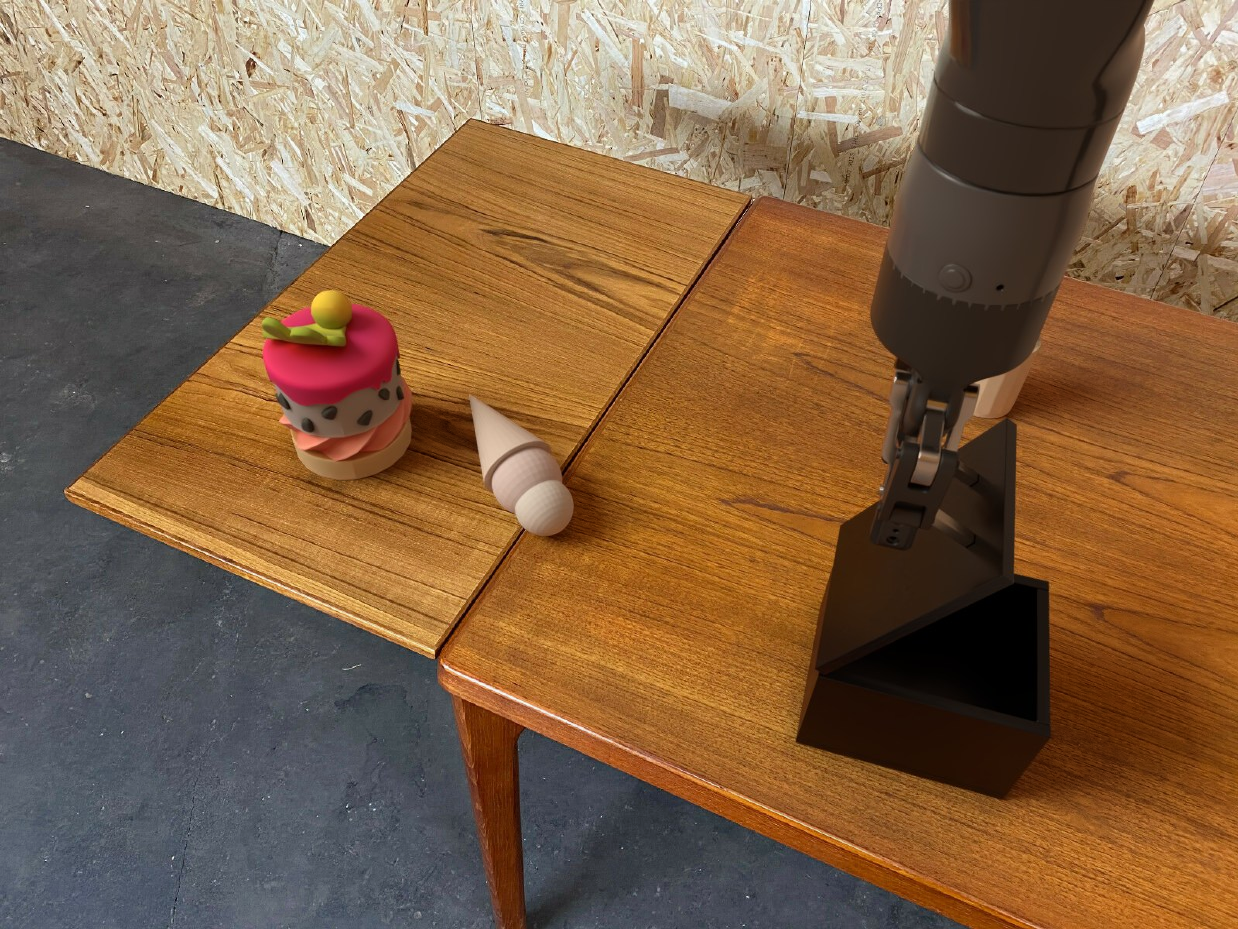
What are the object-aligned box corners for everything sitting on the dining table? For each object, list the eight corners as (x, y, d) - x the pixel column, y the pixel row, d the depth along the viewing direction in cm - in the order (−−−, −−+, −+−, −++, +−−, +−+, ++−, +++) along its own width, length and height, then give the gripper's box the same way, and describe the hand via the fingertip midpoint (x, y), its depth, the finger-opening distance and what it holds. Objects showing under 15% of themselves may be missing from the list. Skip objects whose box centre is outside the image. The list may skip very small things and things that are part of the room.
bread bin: (1006, 651, 69) (1049, 581, 63) (1002, 800, 62) (1051, 737, 55) (820, 605, 72) (843, 532, 65) (795, 742, 64) (817, 676, 58)
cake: (313, 391, 86) (272, 251, 75) (428, 400, 86) (404, 261, 75) (274, 477, 79) (222, 337, 68) (399, 488, 79) (368, 349, 68)
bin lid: (1017, 424, 55) (943, 370, 53) (1014, 583, 47) (928, 525, 46) (848, 531, 65) (784, 488, 64) (824, 675, 58) (750, 629, 56)
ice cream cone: (474, 422, 84) (560, 553, 77) (422, 415, 79) (509, 555, 72) (514, 371, 81) (606, 503, 75) (462, 361, 76) (557, 501, 70)
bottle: (1013, 383, 89) (1051, 297, 82) (1012, 424, 85) (1051, 338, 78) (951, 371, 90) (984, 285, 83) (948, 411, 86) (981, 324, 79)
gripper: (1072, 368, 36) (956, 620, 48) (1064, 174, 45) (969, 427, 58) (870, 332, 37) (808, 586, 50) (903, 151, 47) (844, 403, 59)
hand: (894, 500), depth 53 cm, fingers closed on bin lid, 5 cm apart
